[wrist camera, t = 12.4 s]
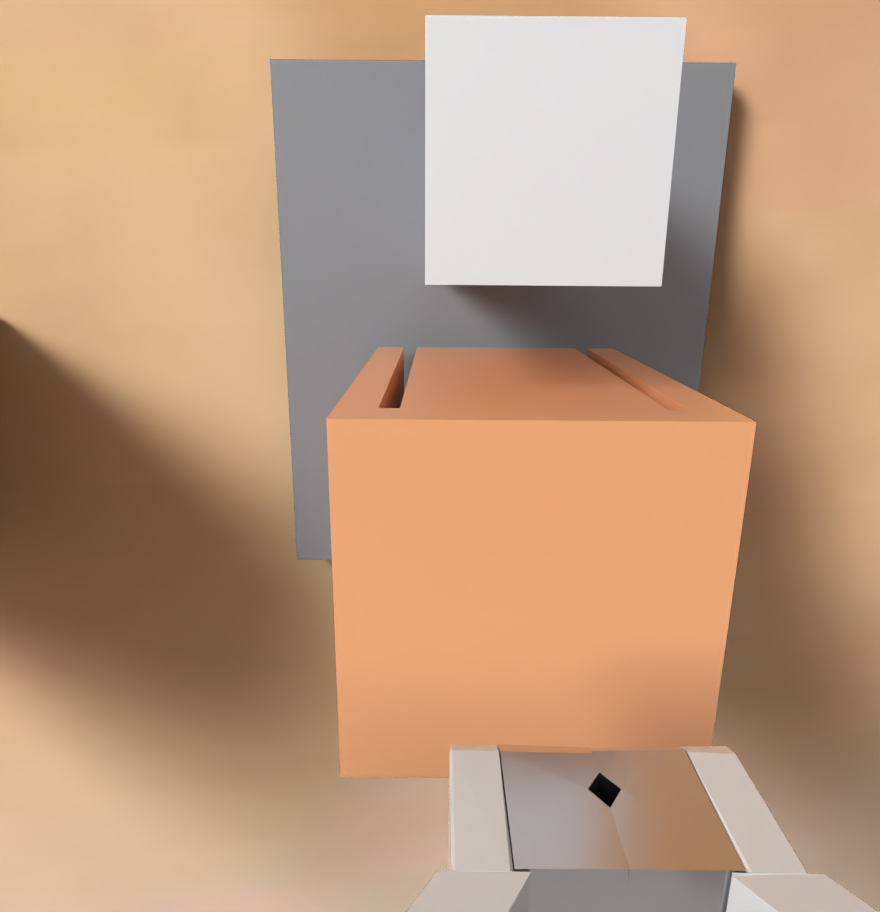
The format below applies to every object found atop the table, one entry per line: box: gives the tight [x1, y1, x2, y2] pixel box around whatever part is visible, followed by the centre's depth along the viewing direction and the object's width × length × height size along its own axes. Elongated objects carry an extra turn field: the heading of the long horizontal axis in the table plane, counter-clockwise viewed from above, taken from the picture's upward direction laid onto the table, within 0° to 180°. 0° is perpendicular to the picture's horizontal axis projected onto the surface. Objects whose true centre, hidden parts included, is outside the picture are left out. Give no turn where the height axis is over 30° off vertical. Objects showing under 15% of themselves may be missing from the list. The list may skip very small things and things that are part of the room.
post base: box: [270, 15, 736, 560], centre depth 16 cm, size 14×12×10 cm
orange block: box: [326, 347, 757, 778], centre depth 15 cm, size 6×6×9 cm
